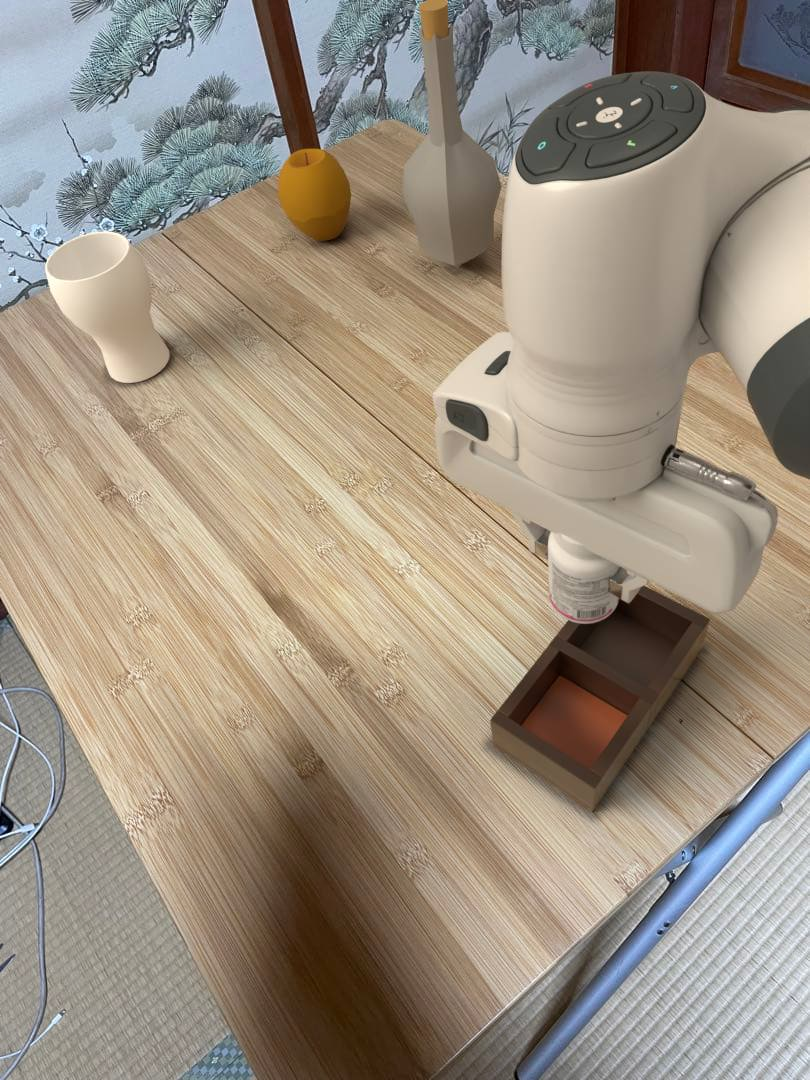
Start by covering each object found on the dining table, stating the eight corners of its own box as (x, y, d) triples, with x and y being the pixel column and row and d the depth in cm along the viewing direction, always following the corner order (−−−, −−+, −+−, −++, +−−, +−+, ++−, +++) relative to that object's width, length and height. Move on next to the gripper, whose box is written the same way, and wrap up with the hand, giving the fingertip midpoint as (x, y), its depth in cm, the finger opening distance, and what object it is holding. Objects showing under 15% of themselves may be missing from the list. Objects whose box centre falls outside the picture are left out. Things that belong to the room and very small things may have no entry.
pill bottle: (569, 558, 59) (571, 478, 53) (631, 585, 57) (641, 506, 51) (535, 607, 57) (533, 530, 51) (598, 637, 55) (604, 561, 48)
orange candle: (275, 239, 116) (252, 157, 107) (328, 207, 119) (310, 125, 110) (319, 263, 111) (298, 180, 102) (373, 229, 114) (357, 145, 105)
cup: (106, 403, 99) (47, 297, 87) (90, 354, 105) (33, 249, 94) (190, 371, 101) (144, 262, 89) (170, 324, 107) (123, 217, 95)
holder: (606, 598, 73) (609, 567, 70) (701, 648, 69) (710, 618, 65) (492, 745, 66) (489, 720, 63) (591, 812, 62) (594, 789, 58)
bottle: (401, 286, 105) (359, 27, 82) (433, 236, 111) (403, -19, 88) (485, 298, 102) (467, 30, 78) (514, 245, 108) (505, -19, 84)
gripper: (814, 455, 40) (758, 611, 51) (474, 323, 50) (487, 478, 61) (754, 542, 38) (708, 686, 49) (408, 385, 47) (434, 535, 58)
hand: (583, 569), depth 55 cm, fingers closed on pill bottle, 4 cm apart
